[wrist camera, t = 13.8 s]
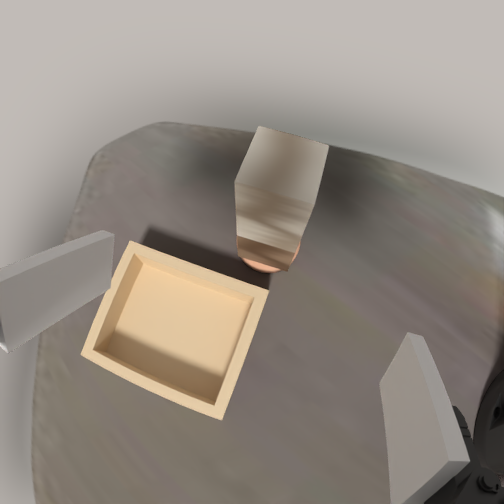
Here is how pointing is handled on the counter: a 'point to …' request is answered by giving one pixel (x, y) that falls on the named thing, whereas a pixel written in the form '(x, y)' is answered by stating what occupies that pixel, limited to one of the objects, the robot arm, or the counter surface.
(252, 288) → the beige open tray
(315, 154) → the two-tone block
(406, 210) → the counter surface
